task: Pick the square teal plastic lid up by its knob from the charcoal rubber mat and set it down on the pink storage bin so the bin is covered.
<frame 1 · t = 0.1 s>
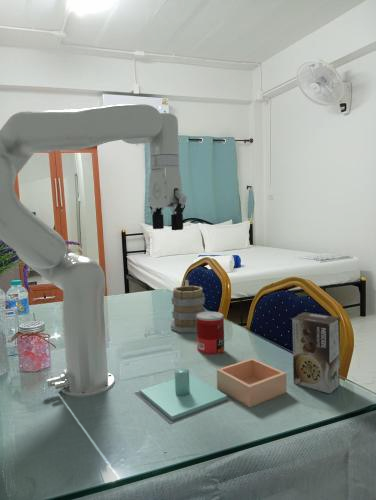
hand: (167, 229, 103), 37 cm above the table, tool pointing down, fingers open, 9 cm apart
pink storage bin: (251, 392, 88), on the table
lid: (182, 396, 86), point 1 cm above the table, touching mat
coffee box: (316, 384, 91), on the table
mat: (182, 398, 86), on the table
canned food: (210, 351, 114), on the table
tankard: (189, 324, 141), on the table
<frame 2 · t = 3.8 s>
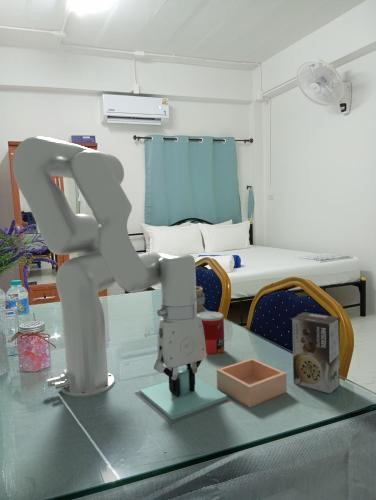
hand: (182, 390, 86), 2 cm above the table, tool pointing down, fingers closed on lid, 3 cm apart
lid: (182, 396, 86), point 1 cm above the table, touching gripper, mat
everything else where it was.
when the fingers open (7 cm above the table, at t = 8.2 s): lid drops 1 cm, resting on pink storage bin.
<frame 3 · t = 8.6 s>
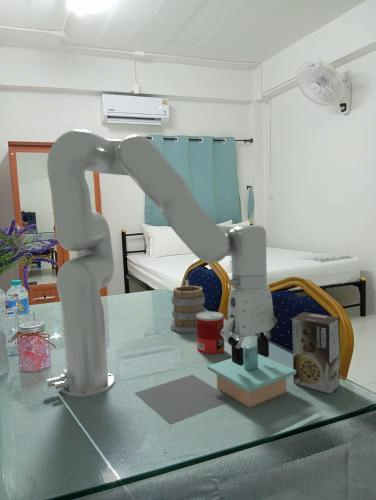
hand: (250, 358, 87), 8 cm above the table, tool pointing down, fingers open, 7 cm apart
lid: (250, 371, 88), point 5 cm above the table, touching pink storage bin
everything else where it was.
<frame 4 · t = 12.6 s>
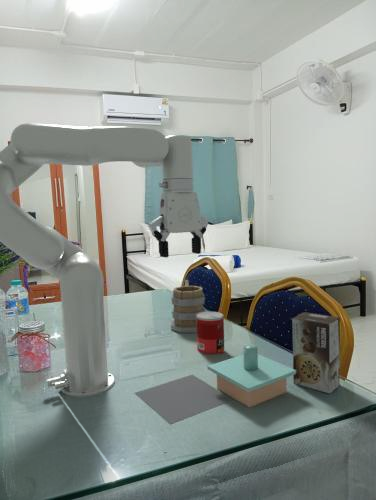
hand: (180, 255, 99), 30 cm above the table, tool pointing down, fingers open, 9 cm apart
nothing on the table moved.
at the end: lid 0.0 cm off-centre on the pink storage bin, point 5.0 cm above the pink storage bin's base; lid tilted 0°; the gripper is holding nothing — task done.
